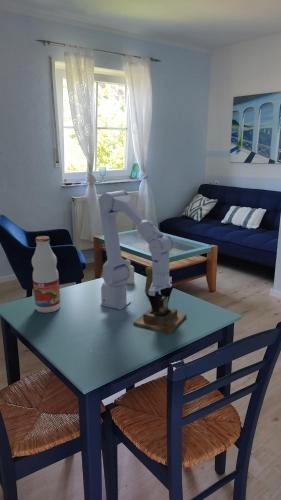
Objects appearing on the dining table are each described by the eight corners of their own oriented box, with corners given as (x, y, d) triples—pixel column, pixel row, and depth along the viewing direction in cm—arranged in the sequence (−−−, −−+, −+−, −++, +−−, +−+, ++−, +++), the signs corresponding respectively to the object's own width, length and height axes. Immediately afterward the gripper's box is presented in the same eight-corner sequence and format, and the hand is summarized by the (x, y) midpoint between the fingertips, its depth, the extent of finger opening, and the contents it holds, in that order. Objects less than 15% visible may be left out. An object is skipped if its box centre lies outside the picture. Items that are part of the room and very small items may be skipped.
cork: (157, 294, 158) (157, 269, 155) (143, 293, 159) (143, 268, 156) (159, 289, 163) (160, 265, 160) (146, 288, 164) (146, 264, 161)
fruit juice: (64, 304, 149) (60, 235, 141) (53, 314, 140) (47, 241, 133) (43, 301, 152) (37, 233, 144) (30, 311, 143) (23, 239, 135)
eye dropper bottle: (130, 285, 168) (129, 259, 164) (120, 283, 171) (119, 257, 167) (135, 282, 171) (135, 257, 168) (125, 280, 174) (125, 255, 171)
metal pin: (153, 319, 134) (153, 298, 131) (157, 314, 137) (158, 294, 135) (163, 321, 132) (163, 300, 130) (168, 317, 135) (168, 296, 133)
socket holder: (133, 324, 132) (133, 315, 131) (151, 309, 144) (151, 300, 143) (170, 333, 126) (170, 324, 125) (186, 317, 137) (186, 308, 136)
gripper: (162, 279, 122) (162, 318, 125) (179, 266, 134) (179, 302, 138) (142, 276, 125) (143, 313, 129) (161, 263, 137) (161, 298, 141)
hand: (160, 307), depth 133 cm, fingers open, 7 cm apart
